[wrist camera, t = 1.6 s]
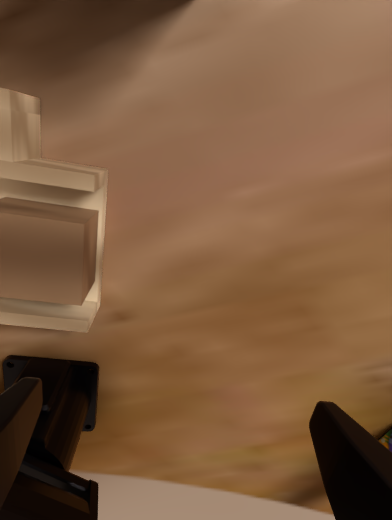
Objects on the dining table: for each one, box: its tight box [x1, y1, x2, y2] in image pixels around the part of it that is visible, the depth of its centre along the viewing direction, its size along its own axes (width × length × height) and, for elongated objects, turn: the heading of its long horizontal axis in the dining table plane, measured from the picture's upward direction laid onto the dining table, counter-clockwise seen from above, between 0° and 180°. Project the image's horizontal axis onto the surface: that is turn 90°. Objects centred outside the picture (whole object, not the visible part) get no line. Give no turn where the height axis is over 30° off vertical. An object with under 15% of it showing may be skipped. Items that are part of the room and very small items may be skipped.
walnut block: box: [0, 197, 99, 306], centre depth 16 cm, size 4×5×3 cm
